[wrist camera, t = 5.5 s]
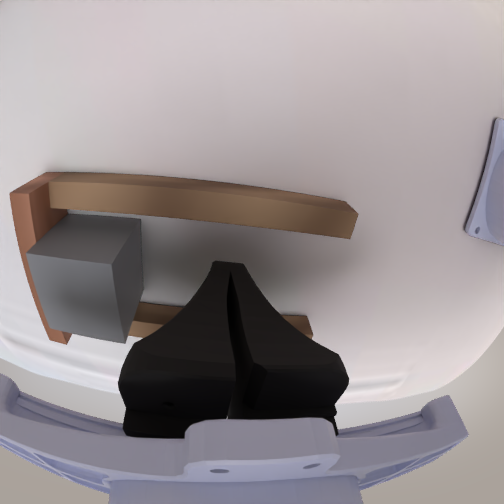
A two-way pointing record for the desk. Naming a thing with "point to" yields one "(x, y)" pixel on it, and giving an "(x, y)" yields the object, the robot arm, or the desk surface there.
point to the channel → (173, 206)
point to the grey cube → (89, 275)
